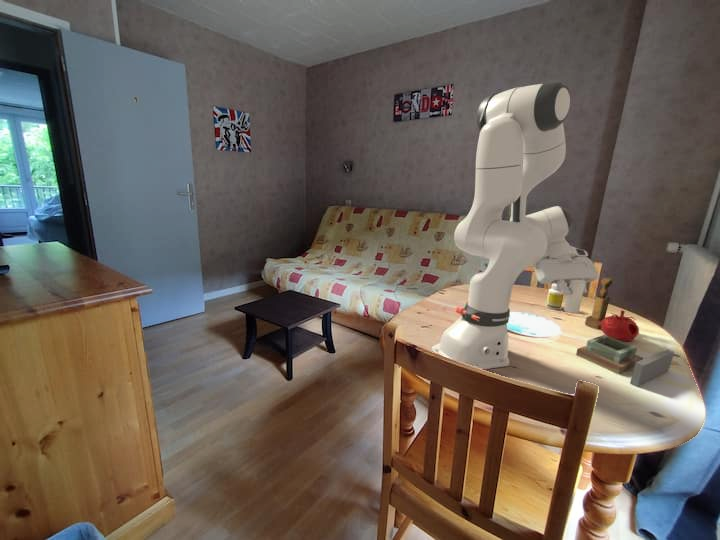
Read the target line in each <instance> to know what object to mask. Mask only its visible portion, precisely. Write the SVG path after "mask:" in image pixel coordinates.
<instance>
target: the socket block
mask: <svg viewBox="0 0 720 540" xmlns="http://www.w3.org/2000/svg"><path fill="white" fill-rule="evenodd" d="M637 350H638V347H637V346H634V345H631V344H630V343H627V342H625V341H620V340H616V339H614V338H611V337H608V336H606V335H605V334H603V335H600V336H597V337H592V338H591V339H588V340H587V341H586V345H584V346H581V347H579V348H577V349H576V353H575V355H576V356H577V357H580V358H582V359H584V360H587V361H589V362H590V363H592V364H596V365H598V366H600V367H602V368H603V369H607V370H608V371H610V372H613V373H614V374H617V375H620V374H622V373H624V372H627V371H630V370H631V369H634V367H635V363H636V362H638V361H640V360H643V359H644V357H642V356H639V355H637V354H636V353H637Z"/></svg>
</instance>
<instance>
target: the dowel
mask: <svg viewBox="0 0 720 540" xmlns="http://www.w3.org/2000/svg"><path fill="white" fill-rule="evenodd" d="M584 286H585V281H582V280H578V279H570V282H569V283H568V286H567V287H568V288H571V289H572V291H573V293H572V294H571V295H566V297H565V302H564V307H563V311H564V312H566V313H570V314H579V313H580V308H581V305H582V304H581V303H582V300H583V295H584V294H583V291H584Z"/></svg>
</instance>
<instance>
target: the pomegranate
mask: <svg viewBox="0 0 720 540" xmlns="http://www.w3.org/2000/svg"><path fill="white" fill-rule="evenodd" d="M611 314H612V315H611V316H605V318H604V319H603V320H602V322H601V332H602V333H603V335H606V336H608V337H611V338H614V339H616V340H619V341H622V342H631V341H633V340H635V339H636V338H637V337H638V335H639V332H640V328H639V326H638V325H637V323H636V322H635V321H634V320H635V317H633V316H631V317H630V316H625V310H620V315H618V314H616V313H613V312H611Z"/></svg>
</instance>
